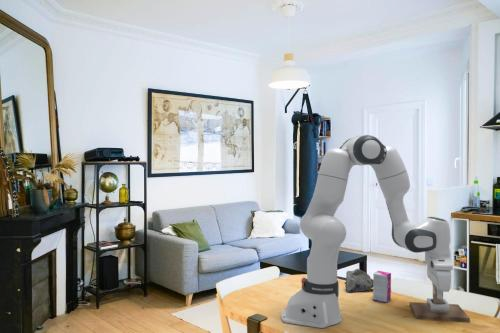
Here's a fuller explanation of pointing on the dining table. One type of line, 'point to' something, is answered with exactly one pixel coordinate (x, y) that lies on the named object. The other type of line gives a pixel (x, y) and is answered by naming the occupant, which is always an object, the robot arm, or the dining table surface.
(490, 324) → the dining table surface
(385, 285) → the supplement box
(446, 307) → the gray square dish
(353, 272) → the mineral rock
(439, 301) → the birch stick
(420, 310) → the walnut board
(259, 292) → the dining table surface
